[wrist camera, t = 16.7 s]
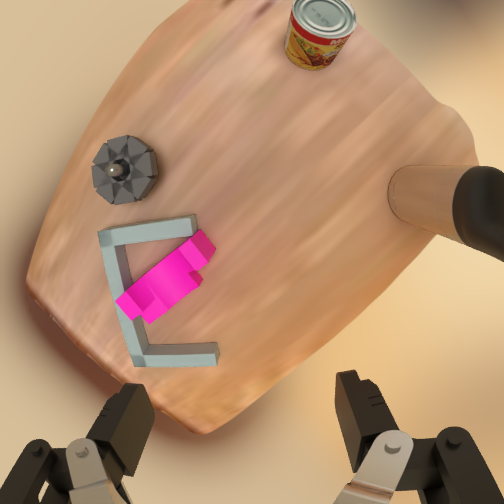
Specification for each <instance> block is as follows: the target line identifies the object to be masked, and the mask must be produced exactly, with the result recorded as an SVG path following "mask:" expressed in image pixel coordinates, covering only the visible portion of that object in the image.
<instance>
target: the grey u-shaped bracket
mask: <svg viewBox="0 0 504 504" xmlns="http://www.w3.org/2000/svg"><path fill="white" fill-rule="evenodd" d="M197 231H198V230H197V223H196V216H195V215H188V216H181V217H173V218H166V219H160V220H153V221H146V222H140V223H133V224H127V225H121V226H115V227H109V228H106V229H103V230H101V231H98V237H99V242H100V247H101V252H102V256H103V261H104V265H105V270H106V274H107V278H108V282H109V286H110V290H111V294H112V297H113V301H114V305H115V308H116V312H117V315H118V319H119V322H120V325H121V329H122V332H123V335H124V338H125V341H126V344H127V347H128V350H129V353H130V356H131V359H132V361H133V364H134V367H203V366H217V364H218V359H219V350H218V345H217V342H214V343H195V344H167V345H149V343H148V339H147V336H146V332H145V329H144V325H143V322H142V318H141V315H138V316H137V317H136V318H135V319H133V320H132V321H131V320H130V319H129V318H128V317H127V315H126V314H125V313H124V312H123V311H122V310H121V308H120V307H119V306H118V305H117V304H116V302H115V300H117V299H118V298H119V297H120V296H121V295H122V294H123V293H124V292H125V291H126V290H127V289H128V288H129V287H130V286H132V285H133V283H132V279H131V274H130V270H129V265H128V261H127V256H126V251H125V246H124V244H131V243H139V242H146V241H154V240H162V239H170V238H178V237H186V236H193V235H194V234H195V233H196V232H197Z"/></svg>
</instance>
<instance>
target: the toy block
mask: <svg viewBox="0 0 504 504" xmlns="http://www.w3.org/2000/svg"><path fill="white" fill-rule="evenodd" d="M215 250H216V248H215V247H214V246H213V244H212V243H211V242H210V241H209V239H208V238H207V237H206V235H205V234H204V233H203V232H202V230H201V229H200V230H199V231H198V232H196V233H195V234H194V235H193V236H191V237H190V238H189V239H187V240H186V241H185V242H184V243H182V244H181V245H180V246H179V247H177V248H176V249H175V250H174V251H172V252H171V253H170V254H169V255H168V256H166V257H165V258H164V259H163V260H161V261H160V262H159V263H158V264H157V265H155V266H154V267H153V268H152V269H150V270H149V271H148V272H147V273H146V274H144V275H143V276H142V277H141V278H140V279H138V280H137V281H136V282H135V283H134V284H133V285H132V286H130V287H129V288H128V289H127V290H126V291H125V292H124V293H123V294H122V295H121V296H120V297H119V298H118V299H117V300H115V302H116V304H117V305H118V306H119V307H120V308H121V310H122V311H123V312H124V313H125V314H126V315H127V317H128V318H129V319H130V320H131V321H132V320H133V319H135V318H136V317H137V316H138V315H141V316H142V317H143V318H144V319H145V321H146V322H147V323H148V324H150V323H152V322H153V321H154V320H156V319H157V318H159V317H160V316H161V315H163V314H164V313H165V312H167V311H168V310H169V309H170V308H171V307H172V306H173V305H174V304H176V303H177V302H178V301H179V300H180V299H182V298H183V297H184V296H185V295H187V294H188V293H190V292H191V291H193V290H194V289H196V288H197V287H199V285H200V284H201V282H202V280H203V279H202V277H201V276H200V275H199V274H198V272H197V271H198V270H199V269H200V268H202V267H203V266H204V265H206V264H207V263H208V262H209V260H210V259H211V257H212V255H213V253H214V252H215Z"/></svg>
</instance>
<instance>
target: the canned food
mask: <svg viewBox="0 0 504 504" xmlns="http://www.w3.org/2000/svg"><path fill="white" fill-rule="evenodd" d="M356 25H357V15H356V12H355V10H354V8H353V7H352V5H351V4H350V3H349V2H348V1H347V0H294V2H293V5H292V10H291V15H290V19H289V24H288V29H287V34H286V39H285V45H284V49H285V53H286V55H287V57H288V58H289V59H290V61H291V62H292V63H294V64H295V65H297V66H298V67H300V68H303V69H306V70H320V69H324V68H326V67H327V66H329V65H330V64H331V63H332V61H333V60H334V59H335V57H336V56H337V54H338V53H339V51H340V50H341V48H342V47H343V45H344V44H345V42H346V41H347V40H348V38H349V37H350V35H351V34H352V32H353V31H354V30H355V28H356Z"/></svg>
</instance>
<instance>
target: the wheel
mask: <svg viewBox="0 0 504 504" xmlns="http://www.w3.org/2000/svg"><path fill="white" fill-rule="evenodd" d="M153 150H154V149H152V148H151V147H150V146H148V145H147V144H146V143H144V142H143V141H142V140H140V139H139V138H137V137H133V136H129V135H125V136H121V137H118V138H114V139H110V140H107V143H104V144H103V145H102V147H101V148H100V150H99V152H98V153H97V155H96V157H95V158H94V160H93V163H94V164H95V165H93V166H91V167H92V176H93V184H94V188H97V187H98V188H97V190H96V192H97V193H98V194H99V195H101V196H102V197H103V198H104V199H105V200H107V201H108V202H109V203H110V204H115V205H119V204H124V203H129V202H135V201H139V200H142V199H141V198H145V197H146V195H147V194H148V192H149V191H150V189H151V188H152V186H153V185H154V183H155V182H156V180H157V179H156V178H155V177H154V176H157V175H158V169H157V161H156V153H153V152H152V151H153ZM124 160H126V161H127V162H128V163H129V164H130V174H129V176H128V177H127V179H126V180H125V181H124V180H123V179H121V178H120V177H119V176H111V177H109V176H107V175H106V174H105V167H106V166H107V165H108V164H121V163H122V161H124Z"/></svg>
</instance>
